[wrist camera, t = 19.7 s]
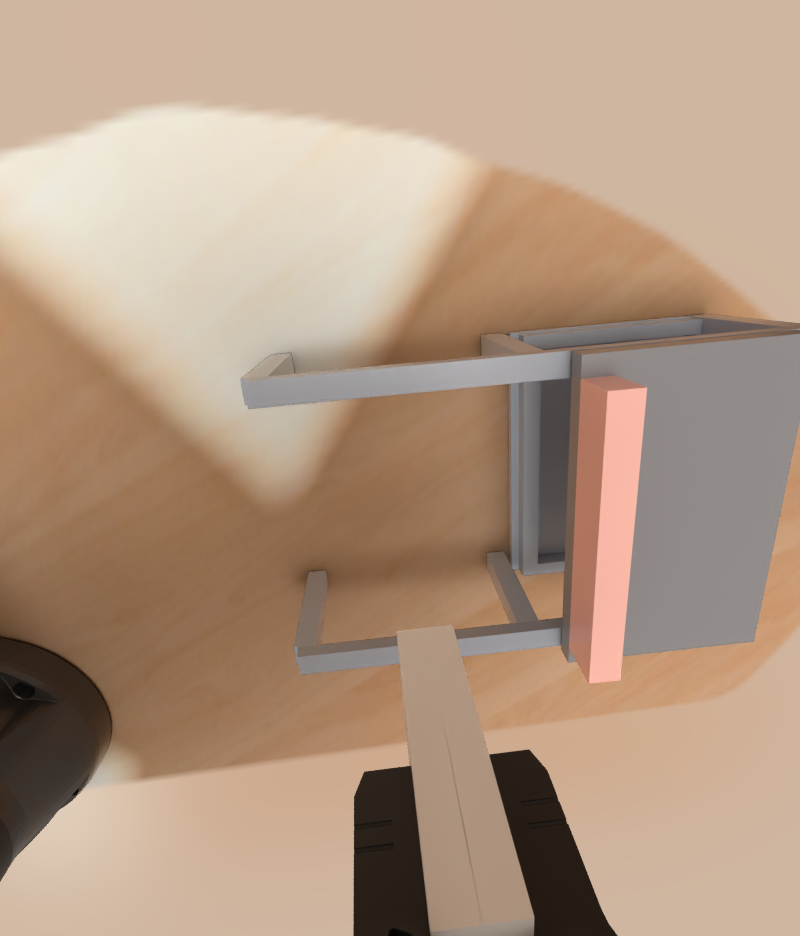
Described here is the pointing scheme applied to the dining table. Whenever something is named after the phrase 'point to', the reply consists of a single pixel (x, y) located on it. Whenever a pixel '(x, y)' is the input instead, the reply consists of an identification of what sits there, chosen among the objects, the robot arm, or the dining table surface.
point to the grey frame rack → (530, 459)
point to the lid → (674, 493)
